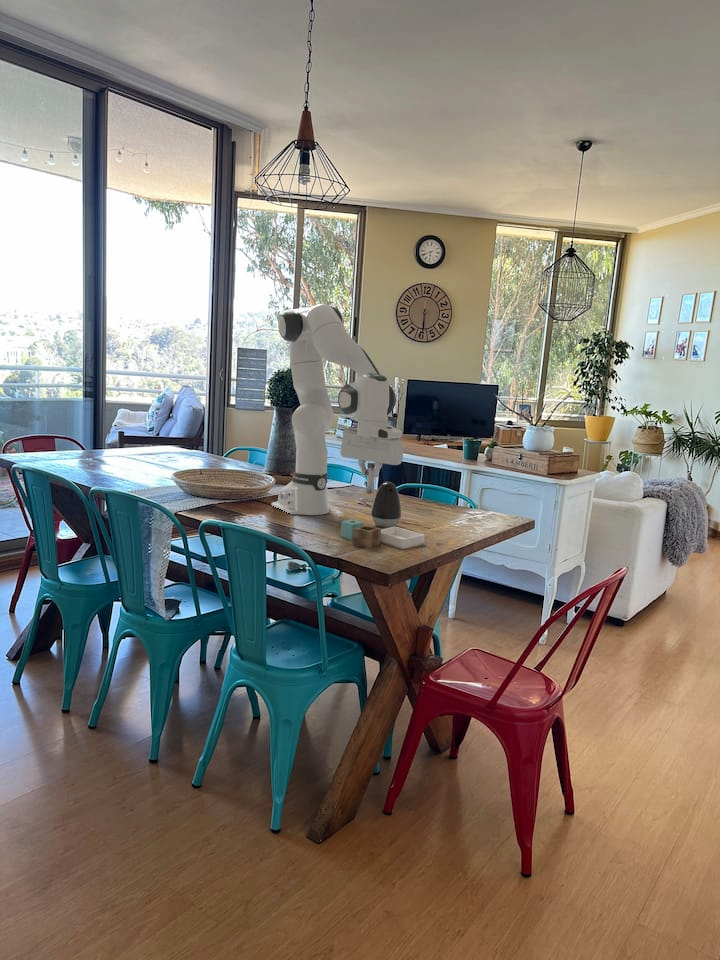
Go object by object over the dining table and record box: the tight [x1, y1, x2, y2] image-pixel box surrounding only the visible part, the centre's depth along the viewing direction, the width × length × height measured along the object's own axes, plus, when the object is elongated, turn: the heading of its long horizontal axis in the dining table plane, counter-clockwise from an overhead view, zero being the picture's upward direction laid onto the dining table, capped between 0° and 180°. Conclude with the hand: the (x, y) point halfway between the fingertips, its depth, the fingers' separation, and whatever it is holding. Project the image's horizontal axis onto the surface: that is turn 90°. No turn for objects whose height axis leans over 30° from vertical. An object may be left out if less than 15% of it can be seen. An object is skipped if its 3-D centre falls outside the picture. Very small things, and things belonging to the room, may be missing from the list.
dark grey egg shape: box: [370, 481, 402, 529], centre depth 234 cm, size 10×10×15 cm
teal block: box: [340, 519, 365, 541], centre depth 218 cm, size 5×5×5 cm
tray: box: [380, 526, 426, 550], centre depth 215 cm, size 12×10×3 cm
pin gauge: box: [366, 462, 376, 495], centre depth 207 cm, size 2×2×9 cm
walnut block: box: [352, 524, 382, 549], centre depth 211 cm, size 6×6×5 cm
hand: (369, 476), depth 207 cm, fingers closed on pin gauge, 2 cm apart
